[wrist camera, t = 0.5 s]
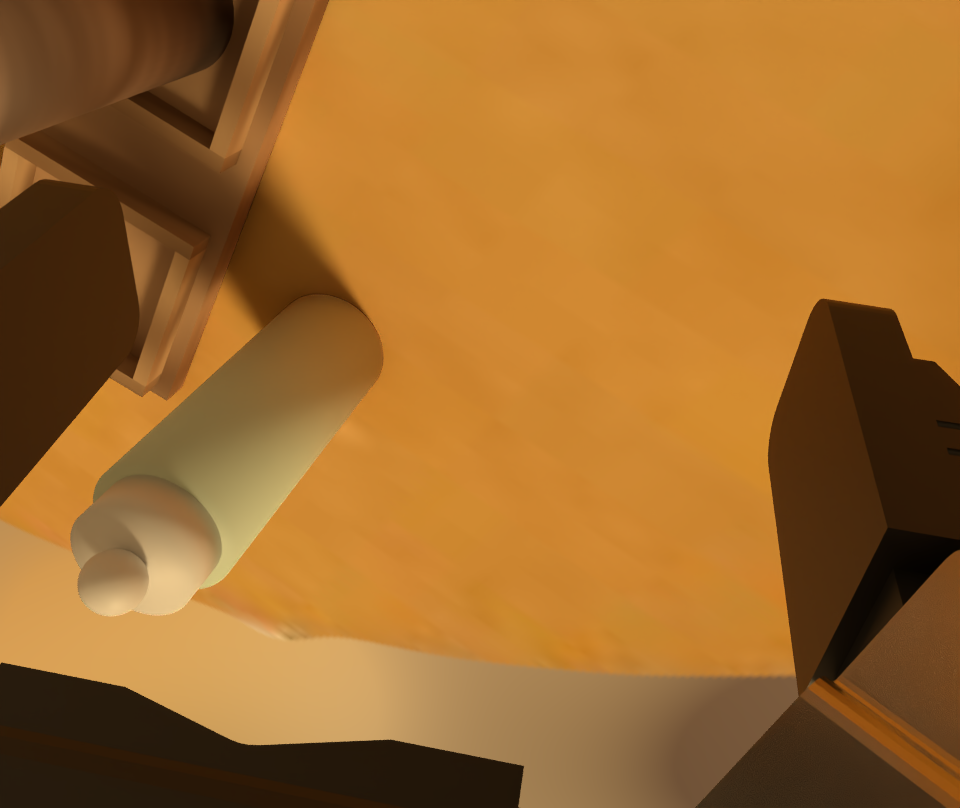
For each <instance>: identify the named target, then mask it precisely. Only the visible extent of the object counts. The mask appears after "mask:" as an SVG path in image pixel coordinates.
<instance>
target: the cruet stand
mask: <svg viewBox="0 0 960 808" xmlns="http://www.w3.org/2000/svg"><path fill="white" fill-rule="evenodd" d="M328 2H329V0H233V5H234V24H233V31H232V35H231V39H230V41H229V44H228V46H227V48H226V50H225V51H224V53H223V54H222V56H221V57H220V58H219V59H218V60H217V61H216V62H215V63H214V64H213V65H211V66H210V67H208V68H207V69H204V70H202V71H200V72H197V73H194V74H192V75H189V76H186V77H183V78H181V79H178V80H175V81H173V82H170V83H167V84H164V85H162V86H159V87H156V88H154V89H151V90H148V91H145V92H143V93H140V94H137V95H135V96H132V97H129V98H126V99H124V100H121V101H118V102H116V103H113V104H110V105H108V106H105V107H102V108H99V109H97V110H94V111H91V112H89V113H86V114H83V115H80V116H78V117H75V118H72V119H70V120H67V121H64V122H61V123H59V124H56V125H53V126H51V127H48V128H45V129H42V130H40V131H37V132H34V133H32V134H29V135H26V136H24V137H21V138H18V139H15V140H13V141H10V142H7V143H5V146H4V152H3V157H2V162H1V168H0V208H2V207H3V206H4V205H6V204H7V203H8V202H10V201H11V200H12V199H14V198H15V197H17V196H18V195H19V194H21V193H22V192H23V191H25V190H26V189H27V188H29V187H30V186H31V185H33V184H34V183H36V182H37V181H39V180H42V179H50V180H57V181H63V182H70V183H76V184H83V185H90V186H96V187H103V188H108V189H110V190H111V191H113V192H114V193H115V194H116V196H117V197H118V199H119V201H120V204H121V207H122V210H123V215H124V221H125V227H126V232H127V238H128V244H129V250H130V255H131V261H132V267H133V272H134V278H135V284H136V290H137V295H138V301H139V311H140V317H139V327H138V332H137V336H136V339H135V342H134V345H133V347H132V349H131V351H130V353H129V354H128V356H127V357H126V358H125V359H124V361H123V362H122V363H121V364H120V365H119V367H118V368H117V369H116V370H115V371H114V373H113V374H112V375H111V376H110V378H111V379H113V380H114V381H116V382H118V383H119V384H121V385H123V386H124V387H126V388H128V389H129V390H131V391H133V392H134V393H136V394H138V395H139V396H141V397H143V396H144V395H145V394H146V393H147V392H148V391H152V392H154V393H155V394H157V395H158V396H160V397H162V398H163V399H165V400H168V399H169V398H170V397H171V396H173V395H174V394H175V393H176V392H177V391H178V390H179V389H180V388H182V386H183V383H184V381H185V378H186V375H187V373H188V370H189V367H190V365H191V362H192V360H193V357H194V354H195V352H196V349H197V346H198V344H199V341H200V338H201V336H202V333H203V331H204V328H205V325H206V323H207V320H208V317H209V315H210V312H211V310H212V307H213V304H214V302H215V299H216V296H217V294H218V291H219V289H220V286H221V283H222V281H223V278H224V275H225V273H226V270H227V267H228V265H229V262H230V260H231V257H232V254H233V252H234V249H235V246H236V244H237V241H238V239H239V236H240V233H241V231H242V228H243V225H244V223H245V220H246V217H247V215H248V212H249V210H250V207H251V204H252V202H253V199H254V196H255V194H256V191H257V189H258V186H259V183H260V181H261V178H262V175H263V173H264V170H265V167H266V165H267V162H268V160H269V157H270V154H271V152H272V149H273V146H274V144H275V141H276V139H277V136H278V133H279V131H280V128H281V125H282V123H283V120H284V117H285V115H286V112H287V110H288V107H289V104H290V102H291V99H292V96H293V94H294V91H295V89H296V86H297V83H298V81H299V78H300V75H301V73H302V70H303V67H304V65H305V62H306V60H307V57H308V54H309V52H310V49H311V46H312V44H313V41H314V39H315V36H316V33H317V31H318V28H319V25H320V23H321V20H322V18H323V15H324V12H325V10H326V7H327V4H328Z"/></svg>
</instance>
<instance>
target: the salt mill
mask: <svg viewBox="0 0 960 808" xmlns="http://www.w3.org/2000/svg"><path fill="white" fill-rule="evenodd" d="M382 366H383V349H382V344H381V341H380V338H379V336H378V333H377V331H376V330H375V328H374V326H373V325H372V323H371V322H370V321H369V319H368V318H367V317H366V316H365V315H364V314H363V313H362V312H361V311H360V310H359V309H357V308H356V307H355V306H353V305H352V304H350V303H348V302H346V301H345V300H342V299H340V298H337V297H334V296H330V295H324V294H313V295H307V296H303V297H301V298H298V299H296V300H295V301H293V302H292V303H291V304H289V305H288V306H287V307H286V308H285V309H284V310H283V311H282V312H281V313H280V314H278V315H277V316H276V317H275V318H274V319H273V320H272V321H271V322H270V323H269V324H268V325H266V326H265V327H264V328H263V329H262V330H261V331H260V332H259V333H258V334H257V335H256V336H254V337H253V338H252V339H251V340H250V341H249V342H248V343H247V344H246V345H245V346H243V347H242V348H241V349H240V350H239V351H238V352H237V353H236V354H235V355H234V356H233V357H231V358H230V359H229V360H228V361H227V362H226V363H225V364H224V365H223V366H222V367H220V368H219V369H218V370H217V371H216V372H215V373H214V374H213V375H212V376H211V377H210V378H208V379H207V380H206V381H205V382H204V383H203V384H202V385H201V386H200V387H199V388H197V389H196V390H195V391H194V392H193V393H192V394H191V395H190V396H189V397H188V398H187V399H185V400H184V401H183V402H182V403H181V404H180V405H179V406H178V407H177V408H176V409H174V410H173V411H172V412H171V413H170V414H169V415H168V416H167V417H166V418H165V419H164V420H162V421H161V422H160V423H159V424H158V425H157V426H156V427H155V428H154V429H153V430H151V431H150V432H149V433H148V434H147V435H146V436H145V437H144V438H143V439H142V440H141V441H139V442H138V443H137V444H136V445H135V446H134V447H133V448H132V449H131V450H130V451H128V452H127V453H126V454H125V455H124V456H123V457H122V458H121V459H120V460H119V461H118V462H116V463H115V464H114V465H113V466H112V467H111V468H110V469H109V470H108V471H107V472H105V473H104V474H103V475H102V476H101V478H100V479H99V481H98V482H97V485H96V487H95V490H94V495H93V504H92V505H91V506H90V507H89V508H88V509H87V510H86V511H85V512H84V513H83V514H81V515H80V516H79V517H78V518H77V520H76V521H75V522H74V524H73V527H72V530H71V547H72V551H73V554H74V557H75V559H76V561H77V563H78V565H79V567H80V568H81V572H80V574H79V578H78V592H79V595H80V598H81V600H82V602H83V603H84V604H85V605H86V607H88V608H89V609H90V610H91V611H93V612H95V613H97V614H100V615H103V616H118V615H122V614H125V613H127V612H129V611H131V610H133V611H136V612H139V613H143V614H148V615H168V614H172V613H174V612H177V611H179V610H180V609H181V608H183V607H184V606H185V605H186V604H187V603H188V602H189V600H190V599H191V598H192V596H193V595H194V594H195V593H196V591H197V590H198V589H203V588H207V587H210V586H213V585H215V584H217V583H218V582H220V581H221V580H223V579H224V577H225V576H226V575H227V574H228V573H229V572H230V570H231V569H232V568H233V566H234V565H235V564H236V563H237V561H238V560H239V559H240V557H241V556H242V555H243V553H244V552H245V551H246V550H247V548H248V547H249V546H250V544H251V543H252V542H253V540H254V539H255V538H256V537H257V535H258V534H259V533H260V531H261V530H262V529H263V527H264V526H265V525H266V524H267V522H268V521H269V520H270V518H271V517H272V516H273V514H274V513H275V512H276V511H277V509H278V508H279V507H280V505H281V504H282V503H283V501H284V500H285V499H286V498H287V496H288V495H289V494H290V492H291V491H292V490H293V488H294V487H295V486H296V485H297V483H298V482H299V481H300V479H301V478H302V477H303V475H304V474H305V473H306V472H307V470H308V469H309V468H310V466H311V465H312V464H313V462H314V461H315V460H316V459H317V457H318V456H319V455H320V453H321V452H322V451H323V449H324V448H325V447H326V446H327V444H328V443H329V442H330V440H331V439H332V438H333V436H334V435H335V434H336V433H337V431H338V430H339V429H340V427H341V426H342V425H343V423H344V422H345V421H346V420H347V418H348V417H349V416H350V414H351V413H352V412H353V410H354V409H355V408H356V407H357V405H358V404H359V403H360V401H361V400H362V399H363V397H364V396H365V395H366V394H367V392H368V391H369V390H370V388H371V387H372V386H373V384H374V383H375V382H376V380H377V379H378V377H379V375H380V373H381V370H382Z"/></svg>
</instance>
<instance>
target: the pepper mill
mask: <svg viewBox="0 0 960 808" xmlns="http://www.w3.org/2000/svg"><path fill="white" fill-rule="evenodd" d="M233 24H234V5H233V0H0V145H2V144H5V143H7V142H10V141H13V140H15V139H18V138H21V137H24V136H26V135H29V134H32V133H34V132H37V131H40V130H42V129H45V128H48V127H51V126H53V125H56V124H59V123H61V122H64V121H67V120H70V119H72V118H75V117H78V116H80V115H83V114H86V113H89V112H91V111H94V110H97V109H99V108H102V107H105V106H108V105H110V104H113V103H116V102H118V101H121V100H124V99H126V98H129V97H132V96H135V95H137V94H140V93H143V92H145V91H148V90H151V89H154V88H156V87H159V86H162V85H164V84H167V83H170V82H173V81H175V80H178V79H181V78H183V77H186V76H189V75H192V74H194V73H197V72H200V71H202V70H204V69H207V68H208V67H210V66H211V65H213V64H214V63H215V62H216V61H217V60H218V59H219V58H220V57H221V56H222V54H223V53H224V51H225V50H226V48H227V46H228V44H229V41H230V39H231V35H232V31H233Z"/></svg>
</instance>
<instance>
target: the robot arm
mask: <svg viewBox="0 0 960 808" xmlns="http://www.w3.org/2000/svg"><path fill="white" fill-rule="evenodd" d="M139 317H140V311H139V301H138V295H137V290H136V284H135V278H134V272H133V267H132V261H131V255H130V250H129V244H128V238H127V232H126V227H125V221H124V215H123V210H122V207H121V204H120V201H119V199H118V197H117V196H116V194H115V193H114V192H113V191H111V190H110V189H108V188H103V187H96V186H90V185H83V184H76V183H70V182H63V181H57V180H50V179H42V180H39V181H37V182H36V183H34V184H33V185H31V186H30V187H29V188H27V189H26V190H25V191H23V192H22V193H21V194H19V195H18V196H17V197H15V198H14V199H12V200H11V201H10V202H8V203H7V204H6V205H4V206H3V207H2V208H0V507H1V505H2V504H3V503H4V502H5V501H6V499H7V498H8V497H9V496H10V495H11V494H12V492H13V491H14V490H15V489H16V488H17V486H18V485H19V484H20V483H21V482H22V480H23V479H24V478H25V477H26V476H27V475H28V473H29V472H30V471H31V470H32V469H33V467H34V466H35V465H36V464H37V463H38V461H39V460H40V459H41V458H42V457H43V456H44V454H45V453H46V452H47V451H48V450H49V448H50V447H51V446H52V445H53V444H54V443H55V441H56V440H57V439H58V438H59V437H60V435H61V434H62V433H63V432H64V431H65V429H66V428H67V427H68V426H69V425H70V424H71V422H72V421H73V420H74V419H75V418H76V416H77V415H78V414H79V413H80V412H81V410H82V409H83V408H84V407H85V406H86V405H87V403H88V402H89V401H90V400H91V399H92V397H93V396H94V395H95V394H96V393H97V392H98V390H99V389H100V388H101V387H102V386H103V384H104V383H105V382H106V381H107V380H108V378H109V377H110V376H111V375H112V374H113V373H114V371H115V370H116V369H117V368H118V367H119V365H120V364H121V363H122V362H123V361H124V359H125V358H126V357H127V356H128V354H129V353H130V351H131V349H132V347H133V345H134V342H135V339H136V336H137V332H138V327H139ZM768 464H769V473H770V481H771V488H772V496H773V504H774V511H775V519H776V526H777V534H778V542H779V549H780V557H781V565H782V572H783V580H784V587H785V595H786V603H787V610H788V618H789V626H790V633H791V641H792V649H793V656H794V664H795V671H796V679H797V687H798V694H799V697H798V698H797V699H796V700H795V701H794V703H793V704H792V705H791V706H790V707H789V708H788V709H787V710H786V711H785V712H784V713H783V714H782V715H781V717H780V718H779V719H778V720H777V721H776V722H775V723H774V724H773V725H772V726H771V727H770V728H769V729H768V731H766V733H765V734H764V735H763V736H762V737H761V738H760V739H759V740H758V741H757V742H756V743H755V744H754V745H753V746H752V748H751V749H750V750H749V751H748V752H747V753H746V754H745V755H744V756H743V757H742V758H741V760H739V762H738V763H737V764H736V765H735V766H734V767H733V768H732V769H731V770H730V771H729V772H728V773H727V774H726V775H725V776H724V778H723V779H722V780H721V781H720V782H719V783H718V784H717V785H716V786H715V787H714V788H713V789H712V790H711V792H710V793H709V794H708V795H707V796H706V797H705V798H704V799H703V800H702V801H701V802H700V803H699V804H698V806H696V808H960V386H959V385H958V384H957V383H956V382H955V381H954V380H953V379H952V378H951V377H950V376H949V375H948V374H947V373H946V372H945V371H944V370H943V369H942V368H941V367H939V366H938V365H937V364H936V363H935V362H933V361H926V360H920V359H914V358H913V357H912V355H911V352H910V349H909V347H908V344H907V341H906V339H905V336H904V333H903V331H902V328H901V326H900V323H899V320H898V318H897V315H896V313H895V312H894V311H893V310H892V309H888V308H881V307H875V306H868V305H861V304H855V303H848V302H842V301H835V300H829V299H820V300H819V301H818V302H817V303H816V305H815V306H814V308H813V310H812V312H811V314H810V316H809V319H808V322H807V324H806V327H805V330H804V333H803V336H802V338H801V341H800V344H799V347H798V350H797V352H796V355H795V358H794V361H793V364H792V366H791V369H790V372H789V375H788V378H787V380H786V383H785V386H784V389H783V392H782V394H781V397H780V400H779V403H778V406H777V408H776V412H775V415H774V419H773V423H772V427H771V433H770V439H769V449H768ZM523 768H524V766H521V765H516V764H511V763H505V762H501V761H496V760H491V759H486V758H480V757H475V756H471V755H465V754H460V753H455V752H450V751H445V750H440V749H435V748H430V747H425V746H420V745H415V744H410V743H404V742H400V741H395V740H373V741H350V742H326V743H304V744H278V745H246V744H241V743H237V742H235V741H232V740H230V739H228V738H226V737H224V736H222V735H220V734H218V733H216V732H214V731H211V730H210V729H208V728H206V727H204V726H202V725H200V724H198V723H196V722H194V721H192V720H190V719H188V718H186V717H184V716H182V715H180V714H178V713H176V712H174V711H172V710H170V709H168V708H166V707H164V706H162V705H160V704H158V703H156V702H154V701H152V700H150V699H148V698H146V697H144V696H142V695H140V694H138V693H136V692H134V691H132V690H130V689H128V688H126V687H122V686H117V685H112V684H107V683H102V682H97V681H91V680H87V679H82V678H77V677H72V676H67V675H62V674H57V673H52V672H46V671H41V670H36V669H31V668H26V667H21V666H16V665H11V664H6V663H1V664H0V808H519V807H518V804H519V798H520V790H521V783H522V776H523Z"/></svg>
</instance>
